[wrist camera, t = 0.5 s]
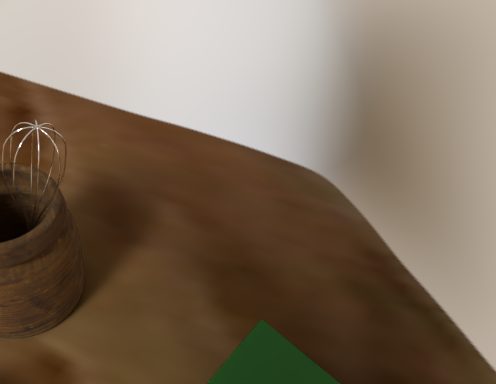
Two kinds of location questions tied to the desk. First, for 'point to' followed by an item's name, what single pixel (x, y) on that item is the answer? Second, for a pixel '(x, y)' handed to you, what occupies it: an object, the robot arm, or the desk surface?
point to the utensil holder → (36, 248)
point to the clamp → (269, 362)
